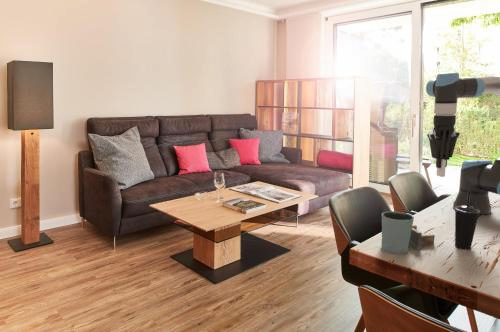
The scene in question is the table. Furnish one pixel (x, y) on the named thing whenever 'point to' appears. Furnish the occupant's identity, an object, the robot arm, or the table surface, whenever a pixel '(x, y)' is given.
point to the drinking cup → (465, 225)
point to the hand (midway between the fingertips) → (440, 175)
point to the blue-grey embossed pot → (396, 231)
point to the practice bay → (420, 239)
